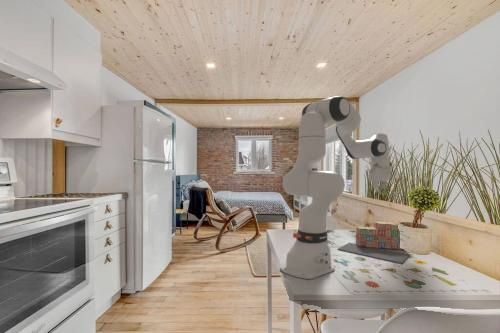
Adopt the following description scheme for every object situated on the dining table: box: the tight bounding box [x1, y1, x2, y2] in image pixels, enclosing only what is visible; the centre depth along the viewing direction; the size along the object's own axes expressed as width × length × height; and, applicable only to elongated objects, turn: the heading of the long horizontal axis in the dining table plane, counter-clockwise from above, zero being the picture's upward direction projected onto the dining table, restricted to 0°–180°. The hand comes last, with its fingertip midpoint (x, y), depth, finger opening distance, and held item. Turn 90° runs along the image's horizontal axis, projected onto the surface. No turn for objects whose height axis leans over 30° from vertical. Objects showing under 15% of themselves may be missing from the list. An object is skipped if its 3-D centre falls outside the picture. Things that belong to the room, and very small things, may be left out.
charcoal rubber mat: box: [336, 242, 411, 265], centre depth 118 cm, size 15×28×1 cm, turn 47°
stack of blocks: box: [355, 221, 404, 250], centre depth 127 cm, size 21×6×12 cm, turn 84°
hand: (380, 189), depth 134 cm, fingers open, 8 cm apart
